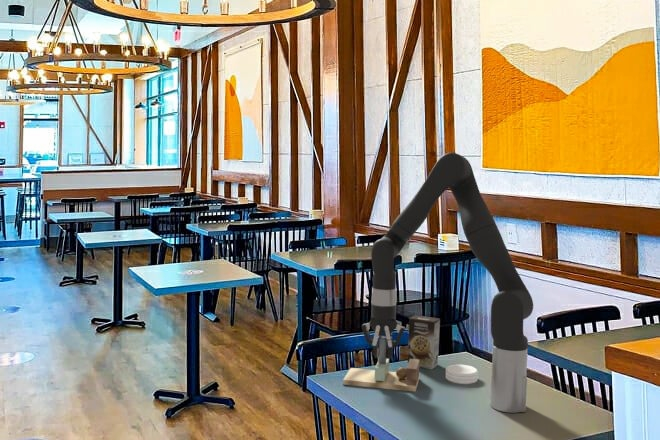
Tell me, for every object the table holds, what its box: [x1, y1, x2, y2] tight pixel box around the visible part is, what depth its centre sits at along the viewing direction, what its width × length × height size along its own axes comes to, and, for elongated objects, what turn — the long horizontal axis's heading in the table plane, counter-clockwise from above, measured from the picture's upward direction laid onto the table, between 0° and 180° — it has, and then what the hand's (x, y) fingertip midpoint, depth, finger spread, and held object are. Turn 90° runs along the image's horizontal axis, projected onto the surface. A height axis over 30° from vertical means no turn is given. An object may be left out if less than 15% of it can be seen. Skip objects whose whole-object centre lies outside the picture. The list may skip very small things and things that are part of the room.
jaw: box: [374, 336, 390, 381], centre depth 192 cm, size 3×10×12 cm, turn 167°
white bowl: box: [445, 363, 479, 385], centre depth 197 cm, size 10×10×4 cm
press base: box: [342, 359, 420, 393], centre depth 192 cm, size 22×12×6 cm, turn 77°
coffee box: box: [407, 314, 441, 370], centre depth 210 cm, size 9×6×16 cm
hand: (382, 357), depth 192 cm, fingers open, 3 cm apart
